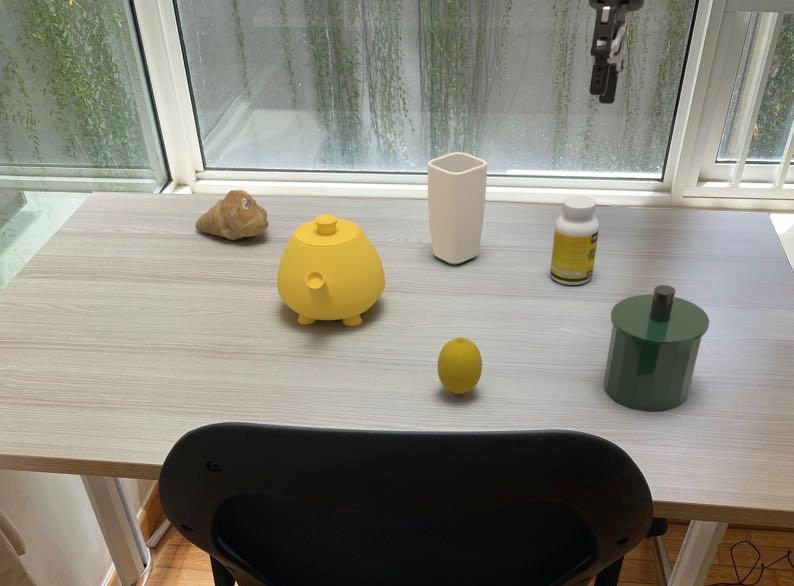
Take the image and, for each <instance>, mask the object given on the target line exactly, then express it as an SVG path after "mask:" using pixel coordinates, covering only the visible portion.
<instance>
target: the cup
mask: <svg viewBox="0 0 794 586" xmlns="http://www.w3.org/2000/svg"><path fill="white" fill-rule="evenodd" d="M487 170H488V162H487V161H486V160H484V159H483V158H480V157H478V156H474V155H472V154H470V153H466V152H461V151H455V152H454V151H453V152H450V153H447V154H444V155H442V156H438V157H436V158H433V159H431V160H429V161H428V162H427V205H428V220H429V221H428V223H429V231H430V240H431V246H432V253H433V255H434V256H435V257H436V258H437V259H438V260H442V261H443V262H445V263H447V264H449V265H455V266H457V265H461V264H462V263H465V262H467V261H470V260H472V259H474V258H475V257H477V256H478V254H479V251H480V249H479V248H480V244H481V240H482V232H483V226H484V217H485V207H486V206H485V205H486V193H487V177H488V176H487V175H488V174H487V173H488V171H487Z"/></svg>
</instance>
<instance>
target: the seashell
mask: <svg viewBox="0 0 794 586" xmlns="http://www.w3.org/2000/svg"><path fill="white" fill-rule="evenodd" d="M269 225H270V223H269V221H268V212H267V211H266V209H265V208H264V207H263V206H260V205H258V203H257V201H256V200H255V199H254V198H253V197H252V195H251V194H250V193H248V192H247V191H246V190H243V189H237V190H236V189H235V190H234V189H233V190H229V192H227V194H226V195H225V196H224V199H219V200H218V201H216V204H215V205H214V206H211V207H210V208H209V209H208V210H207V211H206V212H205V213H204V214H201V216H200V217H199V218H198V219H197V220H196V221H195V230H197V231H199V232H202V233H204V234H210V235H212V236H218V237H221V238H226V239H228V240H233V241H236V240H239V239H242V238H244V237H247V238H250V237H256V236H259V235H260V234H262V232H264V231H265V230H266V229H267V228H268V227H269Z"/></svg>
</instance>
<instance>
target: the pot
mask: <svg viewBox="0 0 794 586" xmlns="http://www.w3.org/2000/svg"><path fill="white" fill-rule="evenodd" d="M702 338H703V336H702V337H700V338H699V339H697V340H694V341H692V342H689V343H684V344H678V345H657V344H650V343H645V342H641V341H637V340H635V339H632V338H630V337H627V336H626V335H624V334H622V333H621V332H619V331H618V330H617V329H616V328H615V327H614V326H613V325H612V328H611V333H610V340H609V346H608V353H607V359H606V366H605V371H604V377H603V383H604V384H603V387H604V390H605V393H606V394H607V395H608V396H609V397H610V399H612V400H613V401H614V402H616V403H618V404H619V405H622V406H624V407H627V408H629V409H633V410H637V411H644V412H661V411H667V410H671V409H675V408H677V407H678V406H680V405H682V404H683V403H684V402H685V401H686V400H687V398H688V396H689V392H690V388H691V384H692V380H693V376H694V371H695V368H696V364H697V359H698V354H699V349H700V346H701V342H702Z"/></svg>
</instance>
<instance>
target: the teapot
mask: <svg viewBox="0 0 794 586" xmlns="http://www.w3.org/2000/svg"><path fill="white" fill-rule="evenodd" d="M276 278H277V280H276V287H277V293H278V296H279V297H280V299H281V301H282V302H283V303H284V304H285V305H286V306H287V307H288V308H290V309H291V310H292V311H294V312H295V313H296V314H298V318H297V320H296V321H297V323H298V324H300V325H311V324H314V323H316V321H317V320H320V321H336V320H342V323H343V325H345V326H349V327H354V326H355V327H356V326H359V325H360V324H362V322H363V319H362V317H361V314H362V313H364V312H366V311H368V310H369V309H370V308H371V307H372V306H373V305H374V304H375V303H376V302H377V301H378V300H379V299H380V297H382V294H383V293H384V290H385V287H386V275H385V271H384V266H383V262H382V260H381V258H380V256H379V254H378V251H377V249H376V248H375V246H374V245H373V243H372V242H371V240H370V239H369V237H368V236H367V235H366V234H365V232H364V231H363V230H362V228H361V227H360V226H358V225H357V224H356V223H354V222H352V221H350V220H347V219H342V218H338V217H337V216H336V215H334V214H326V213H325V214H320V215H318V216H316V217H315V218H314V220H311V221H308V222H305V223H303V224H301V225H299V226H298V228H296V229H295V231H294V232H293V233H292V234H291V237H290V238H289V240H288V242H287V244H286V246H285V248H284V251H283V253H282V255H281V258H280V261H279V263H278V269H277V277H276Z"/></svg>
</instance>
